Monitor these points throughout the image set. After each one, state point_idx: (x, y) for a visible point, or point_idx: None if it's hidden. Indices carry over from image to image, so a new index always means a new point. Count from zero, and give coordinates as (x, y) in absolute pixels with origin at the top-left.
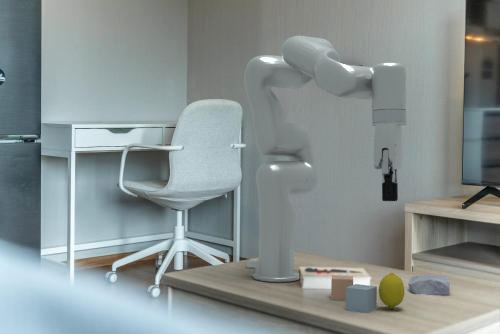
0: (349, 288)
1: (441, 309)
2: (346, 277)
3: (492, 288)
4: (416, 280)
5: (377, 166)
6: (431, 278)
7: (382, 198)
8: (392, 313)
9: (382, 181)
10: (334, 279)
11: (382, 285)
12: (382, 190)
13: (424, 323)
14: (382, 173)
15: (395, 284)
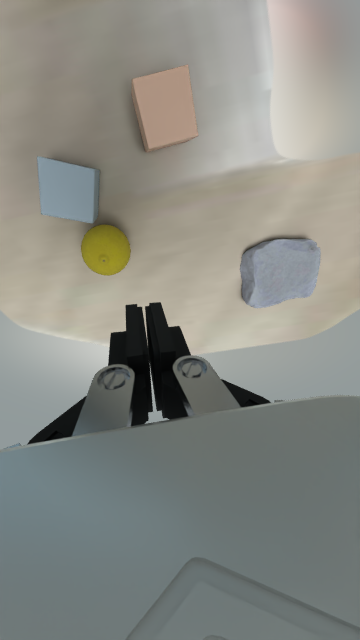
0: (38, 165)
1: (144, 307)
2: (170, 122)
3: (302, 336)
4: (287, 252)
5: (138, 450)
6: (262, 284)
7: (126, 309)
8: (76, 250)
9: (95, 376)
10: (134, 90)
11: (84, 238)
12: (127, 331)
13: (39, 305)
14: (75, 433)
15: (87, 265)
